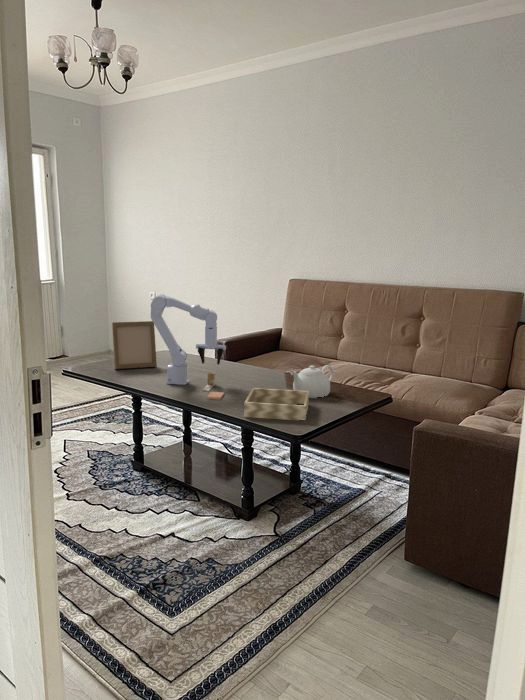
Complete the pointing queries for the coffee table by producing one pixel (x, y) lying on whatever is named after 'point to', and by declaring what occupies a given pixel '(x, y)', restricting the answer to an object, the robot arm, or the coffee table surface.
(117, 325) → the photo frame
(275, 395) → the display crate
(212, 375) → the turner
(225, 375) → the coffee table surface
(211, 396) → the tile
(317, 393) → the teapot
